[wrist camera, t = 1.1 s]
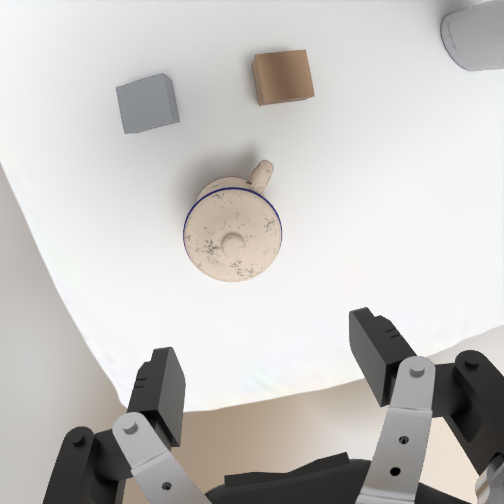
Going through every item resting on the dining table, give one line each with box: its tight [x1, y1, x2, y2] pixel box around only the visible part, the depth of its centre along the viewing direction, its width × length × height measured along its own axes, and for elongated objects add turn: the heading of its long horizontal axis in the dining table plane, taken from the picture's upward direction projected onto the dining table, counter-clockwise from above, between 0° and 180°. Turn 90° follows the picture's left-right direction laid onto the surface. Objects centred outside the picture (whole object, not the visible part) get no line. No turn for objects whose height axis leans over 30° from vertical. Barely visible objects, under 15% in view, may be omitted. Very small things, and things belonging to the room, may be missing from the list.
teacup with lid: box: [183, 160, 282, 282], centre depth 32 cm, size 12×9×12 cm
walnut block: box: [252, 50, 314, 106], centre depth 30 cm, size 5×5×5 cm
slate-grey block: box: [116, 73, 180, 134], centre depth 30 cm, size 5×5×5 cm
